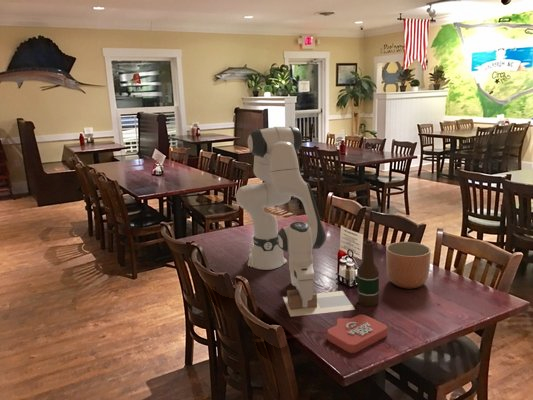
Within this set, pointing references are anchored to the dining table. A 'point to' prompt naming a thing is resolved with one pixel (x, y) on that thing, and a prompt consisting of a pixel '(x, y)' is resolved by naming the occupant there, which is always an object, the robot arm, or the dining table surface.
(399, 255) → the planter
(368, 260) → the beer bottle
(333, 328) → the plaque
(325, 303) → the board
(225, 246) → the dining table surface
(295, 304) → the walnut bar
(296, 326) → the dining table surface
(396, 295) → the dining table surface
